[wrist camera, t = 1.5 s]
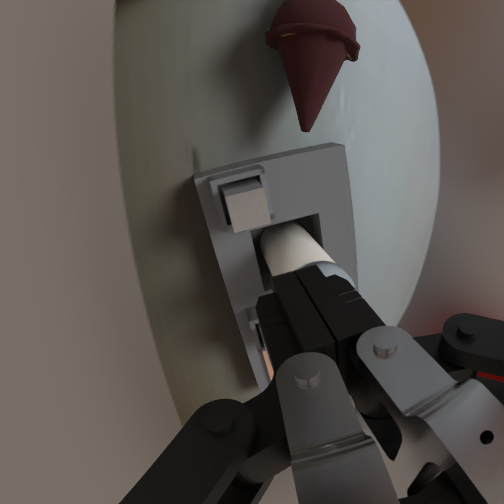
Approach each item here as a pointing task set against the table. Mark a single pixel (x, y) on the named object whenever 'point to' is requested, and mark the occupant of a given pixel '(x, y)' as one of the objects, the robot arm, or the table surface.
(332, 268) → the cartridge
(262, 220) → the button front
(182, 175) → the table surface
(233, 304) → the housing
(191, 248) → the table surface
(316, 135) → the table surface
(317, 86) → the icecream
